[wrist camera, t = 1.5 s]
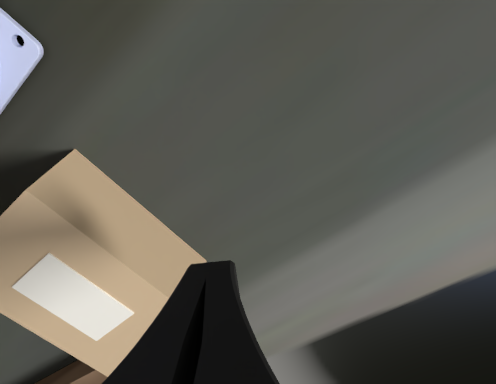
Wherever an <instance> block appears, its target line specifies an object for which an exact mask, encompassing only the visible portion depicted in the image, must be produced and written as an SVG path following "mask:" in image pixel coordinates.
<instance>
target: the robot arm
mask: <svg viewBox="0 0 496 384" xmlns="http://www.w3.org/2000/svg"><path fill="white" fill-rule="evenodd" d="M18 35H19V36H21V37H22V38H23V40H24V46H21V45H20V44H19V43H18V42H17V36H18ZM42 56H43V47H42V45H41V44H40V42H39V41H38V40H37V39H36V38H34V37H33V36H32V35H31V34H30V33H29V32H28V31H26V30H25V29H24V28H23V27H22V26H21V25H20V24H18V23H17V22H16V21H15V20H14V19H13V18H12V17H10V16H9V15H8V14H7V13H6V12H5V11H4V10H2V9H1V8H0V114H1V113H2V111H3V110H4V109H5V107H6V106H7V105H8V103H9V102H10V100H11V99H12V98H13V96H14V95H15V94H16V92H17V91H18V89H19V88H20V87H21V85H22V84H23V83H24V81H25V80H26V79H27V77H28V76H29V74H30V73H31V72H32V70H33V69H34V68H35V66H36V65H37V63H38V62H39V61H40V59H41V58H42ZM102 384H279V382H278V380H277V378H276V376H275V375H274V373H273V372H272V369H271V368H270V366H269V364H268V362H267V360H266V358H265V356H264V354H263V352H262V350H261V348H260V346H259V344H258V342H257V340H256V338H255V335H254V333H253V331H252V329H251V326H250V324H249V321H248V319H247V316H246V314H245V311H244V308H243V305H242V302H241V299H240V294H239V288H238V281H237V275H236V269H235V263H234V262H232V261H231V260H230V261H219V262H208V263H197V264H191V265H190V266H189V267H188V268H187V270H186V272H185V273H184V275H183V277H182V278H181V280H180V282H179V283H178V285H177V287H176V288H175V290H174V291H173V293H172V294H171V296H170V298H169V299H168V301H167V302H166V303H165V305H164V306H163V308H162V309H161V311H160V312H159V314H158V315H157V317H156V318H155V319H154V321H153V322H152V324H151V325H150V326H149V328H148V329H147V330H146V332H145V333H144V334H143V335H142V337H141V338H140V339H139V341H138V342H137V343H136V345H135V346H134V347H133V348H132V350H131V351H130V352H129V353H128V354H127V356H126V357H125V358H124V359H123V360H122V362H121V363H120V364H119V365H118V366H117V367H116V368H115V369H114V371H113V372H112V373H111V374H110V375H109V376H108V377H107V378H106V379H105V380H104V382H103V383H102Z"/></svg>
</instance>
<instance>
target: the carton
mask: <svg viewBox="0 0 496 384" xmlns="http://www.w3.org/2000/svg"><path fill="white" fill-rule="evenodd" d="M197 263H206V260H205V259H204V258H203V257H201V256H200V255H199V254H198V253H197V252H196V251H194V250H193V249H192V248H191V247H190V246H189V245H187V244H186V243H185V242H184V241H183V240H181V239H180V238H179V237H178V236H177V235H176V234H174V233H173V232H172V231H171V230H170V229H169V228H167V227H166V226H165V225H164V224H163V223H162V222H160V221H159V220H158V219H157V218H156V217H154V216H153V215H152V214H151V213H150V212H149V211H147V210H146V209H145V208H144V207H143V206H142V205H140V204H139V203H138V202H137V201H136V200H135V199H133V198H132V197H131V196H130V195H129V194H127V193H126V192H125V191H124V190H123V189H122V188H120V187H119V186H118V185H117V184H116V183H115V182H113V181H112V180H111V179H110V178H109V177H108V176H106V175H105V174H104V173H103V172H102V171H100V170H99V169H98V168H97V167H96V166H95V165H93V164H92V163H91V162H90V161H89V160H88V159H86V158H85V157H84V156H83V155H82V154H80V153H79V152H78V151H77V150H76V149H74V150H73V151H72V152H71V153H69V154H68V155H67V156H66V157H65V158H63V159H62V160H61V161H60V162H58V163H57V164H56V165H55V166H54V167H52V168H51V169H50V170H49V171H48V172H46V173H45V174H44V175H43V176H42V177H40V178H39V179H38V180H37V181H36V182H34V183H33V184H32V185H31V186H30V187H28V188H27V189H26V190H25V191H24V192H23V193H22V194H21V195H20V196H19V197H18V198H17V199H16V200H15V201H14V202H13V203H12V204H11V205H10V207H9V208H8V209H7V210H6V211H5V212H4V213H3V214H2V215H1V216H0V313H2V314H3V315H5V316H7V317H8V318H10V319H12V320H13V321H15V322H17V323H18V324H20V325H22V326H23V327H25V328H27V329H28V330H30V331H32V332H33V333H35V334H37V335H38V336H40V337H42V338H43V339H45V340H47V341H48V342H50V343H52V344H53V345H55V346H57V347H58V348H60V349H62V350H63V351H65V352H67V353H68V354H70V355H72V356H73V357H75V358H77V359H79V360H80V361H82V362H84V363H85V364H87V365H89V366H90V367H92V368H94V369H95V370H97V371H99V372H100V373H102V374H104V375H105V376H107V377H108V376H109V375H110V374H111V373H112V372H113V371H114V369H115V368H116V367H117V366H118V365H119V364H120V363H121V362H122V360H123V359H124V358H125V357H126V356H127V354H128V353H129V352H130V351H131V350H132V348H133V347H134V346H135V345H136V343H137V342H138V341H139V339H140V338H141V337H142V335H143V334H144V333H145V332H146V330H147V329H148V328H149V326H150V325H151V324H152V322H153V321H154V319H155V318H156V317H157V315H158V314H159V312H160V311H161V309H162V308H163V306H164V305H165V303H166V302H167V301H168V299H169V298H170V296H171V294H172V293H173V291H174V290H175V288H176V287H177V285H178V283H179V282H180V280H181V278H182V277H183V275H184V273H185V272H186V270H187V268H188V267H189V266H190V265H191V264H197Z"/></svg>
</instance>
